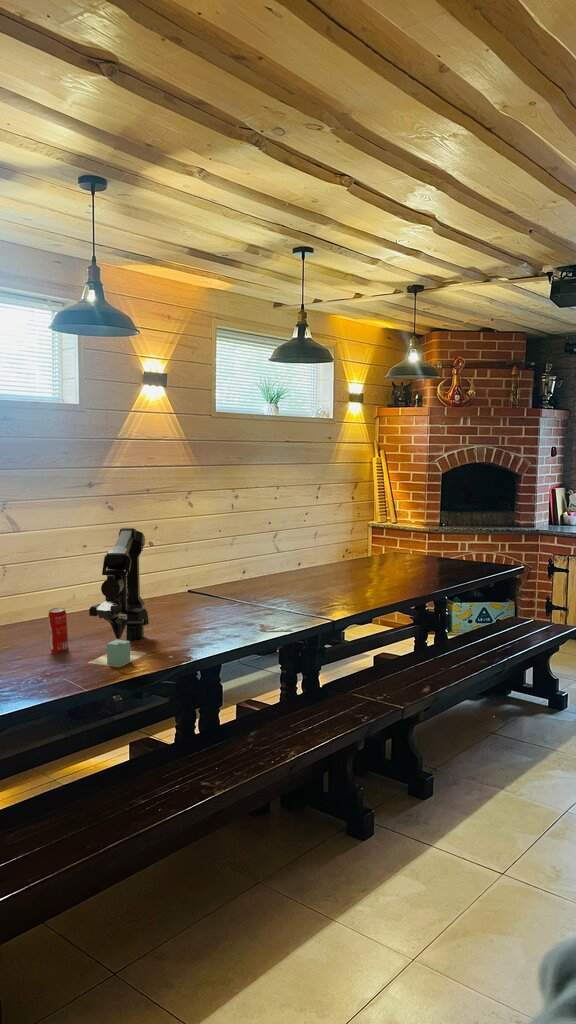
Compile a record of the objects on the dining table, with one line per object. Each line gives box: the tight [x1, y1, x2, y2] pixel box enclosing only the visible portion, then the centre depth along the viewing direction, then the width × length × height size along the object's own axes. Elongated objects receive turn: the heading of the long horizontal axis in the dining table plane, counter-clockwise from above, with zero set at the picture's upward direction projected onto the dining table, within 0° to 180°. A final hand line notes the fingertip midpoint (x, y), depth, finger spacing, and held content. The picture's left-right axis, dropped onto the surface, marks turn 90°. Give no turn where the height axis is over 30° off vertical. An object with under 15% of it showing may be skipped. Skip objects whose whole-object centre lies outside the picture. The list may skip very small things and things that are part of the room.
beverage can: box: [47, 607, 69, 654], centre depth 242 cm, size 6×6×15 cm
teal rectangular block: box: [106, 639, 131, 667], centre depth 229 cm, size 5×5×7 cm
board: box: [87, 650, 148, 668], centre depth 234 cm, size 16×12×1 cm
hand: (118, 638), depth 228 cm, fingers closed
